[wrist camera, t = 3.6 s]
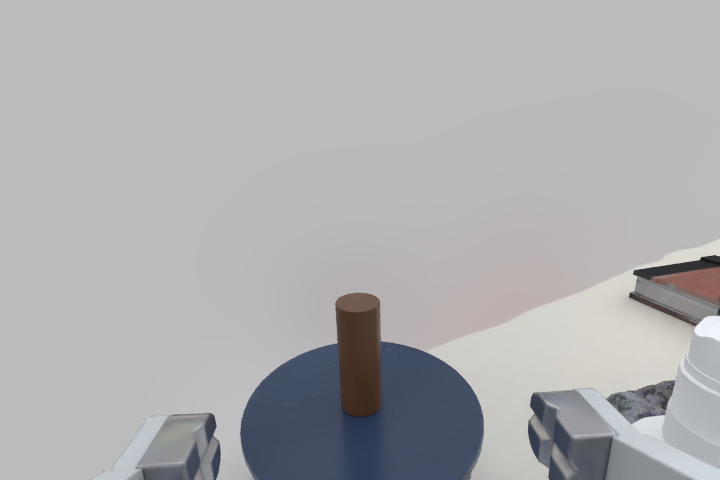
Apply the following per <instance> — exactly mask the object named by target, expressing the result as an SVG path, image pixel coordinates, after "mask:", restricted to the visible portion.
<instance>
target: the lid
mask: <svg viewBox="0 0 720 480" xmlns="http://www.w3.org/2000/svg"><path fill="white" fill-rule="evenodd" d="M335 305H336V323H337V340H338V343H337V344H332V345H328V346H324V347H320V348H317V349H314V350H311V351H308V352H306V353H303V354H301V355H299V356H297V357H295V358H293V359H291V360H289V361H287V362H286V363H284V364H283V365H281V366H280V367H278V368H277V369H276V370H274V371H273V372H272V373H271V374H269V375H268V376H267V377H266V378H265V379H264V380H263V381H262V382H261V383H260V385H259V386H258V387H257V388H256V389H255V391H254V393H253V394H252V396H251V397H250V399H249V401H248V403H247V406H246V408H245V410H244V414H243V417H242V421H241V432H240V435H241V444H242V451H243V455H244V458H245V462H246V465H247V467H248V469H249V471H250V472H251V474H252V476H253V478H254V479H255V480H466V479H467V478H468V477H469V475H470V474H471V472H472V470H473V468H474V467H475V465H476V463H477V461H478V458H479V455H480V452H481V449H482V443H483V436H484V420H483V414H482V410H481V406H480V404H479V401H478V399H477V396H476V395H475V393H474V391H473V390H472V388H471V386H470V385H469V384H468V383H467V382H466V380H465V379H464V378H463V377H462V376H461V375H460V374H459V373H458V372H457V371H456V370H455V369H453V368H452V367H451V366H449V365H448V364H447V363H445V362H443V361H442V360H440V359H438V358H437V357H435V356H432V355H430V354H428V353H426V352H424V351H421V350H418V349H415V348H412V347H408V346H405V345H400V344H395V343H389V342H381V332H380V301H379V299H378V298H377V297H376V296H373V295H371V294H367V293H353V294H347V295H344V296H342V297H340V298H338V299H337V301H336V303H335Z"/></svg>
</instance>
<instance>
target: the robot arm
mask: <svg viewBox="0 0 720 480" xmlns="http://www.w3.org/2000/svg"><path fill="white" fill-rule="evenodd" d="M530 407H531V408H532V410H533V411H534V413H535V414H534V415H533V416H532V417H531V419H530V420H529V424H528V434H529V440H530V444H531V447H532V449H533V452H534V454H535V456H536V457H537V459H538V461H539V462H540V463H542V464H543V465H545V466H546V467H548V468H549V477H548V478H549V479H550V480H720V469H718V468H716V467H714V466H712V465H710V464H708V463H706V462H704V461H702V460H700V459H698V458H696V457H694V456H692V455H689V454H687V453H685V452H683V451H681V450H679V449H677V448H675V447H673V446H671V445H669V444H667V443H665V442H663V441H661V440H659V439H656V438H654V437H652V436H650V435H648V434H645V435H641V434H640V433H639V432H638V431H637V430H636V429H635V428H634V427H633V426H632V425H631V424H630V423H629V422H628V421H627V420H626V419H625V418H624V417H623V416H622V415H621V414H620V413H619V412H618V411H617V410H616V409H615V408H614V407H613V406H612V405H611V404H610V403H609V402H608V401H607V400H606V399H605V398H604V397H603V396H602V395H601V394H600V393H599V392H598V391H597V390H595V389H593V388H584V389H573V390H566V391H552V392H538V393H533V395H532V397H531V403H530ZM215 429H216V422H215V417H214V415H213V414H211V413H203V414H177V415H161V416H151V417H149V418H147V419H146V420H145V421H144V423H143V424H142V426H141V427H140V429H139V430H138V431H137V433H136V434H135V436H134V437H133V439H132V440H131V441H130V443H129V444H128V446H127V447H126V449H125V450H124V451H123V453H122V454H121V456H120V457H119V459H118V460H117V461H116V463H115V464H114V466H113V467H112V469H111V470H110V471H103V472H101V473H100V474H98V475H97V476H96V477H94V478H93V479H91V480H216V478H217V475H218V471H219V465H220V444H219V441H218V440H217V439H216V438H215V437H214V436H213V434H214V431H215Z"/></svg>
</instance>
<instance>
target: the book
mask: <svg viewBox="0 0 720 480" xmlns="http://www.w3.org/2000/svg"><path fill="white" fill-rule="evenodd" d="M633 275H636V276H637V281H636V287H635V292H631V293H630V296H629V297H630V298H633V299H635V300H637V301H640V302H642V303H644V304H646V305H649V306H651V307H653V308H656V309H658V310H660V311H663V312H665V313H667V314H670V315H672V316H674V317H677V318H679V319H681V320H683V321H686V322H688V323H690V324H693V325H695V326H696V325H698V324H699V323H700V322H701V321H702V320H703V319H704V318H705V317H708V316H720V257H719V256H716V255H714V256H707V257H701V259H700V260H698V261H692V262H685V263H679V264H672V265H665V266H659V267H652V268H646V269H639V270H634V273H633Z"/></svg>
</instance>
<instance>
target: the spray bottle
mask: <svg viewBox="0 0 720 480" xmlns="http://www.w3.org/2000/svg"><path fill="white" fill-rule="evenodd" d="M631 425H632V426H633V427H634V428H635V429H636V430H637V431H638V432H639V433H640V434H641V435H645V434H648V435H650V436H652V437H654V438H656V439H659V440H661V441H663V442H665V443H667V444H669V445H671V446H673V447H675V448H677V449H679V450H681V451H683V452H685V453H687V454H689V455H692V456H694V457H696V458H698V459H700V460H702V461H704V462H706V463H708V464H710V465H712V466H714V467H716V468H718V469H720V316H708V317H705V318H704V319H703V320H702V321H701V322H700V323H699V324H698V325H696V327H695V330H694V333H693V337H692V341H691V345H690V350H689V351H688V352H687V354H686V356H685V358H683V359H681V362H680V364H679V367H678V371H677V376H676V380H675V385H674V389H673V393H672V396H671V397H670V399H669V402H668V404H667V409H666V413H665V415H662V416H653V417H646V418H642V419H640V420H638V421H637V422H635V423H633V424H631Z"/></svg>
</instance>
